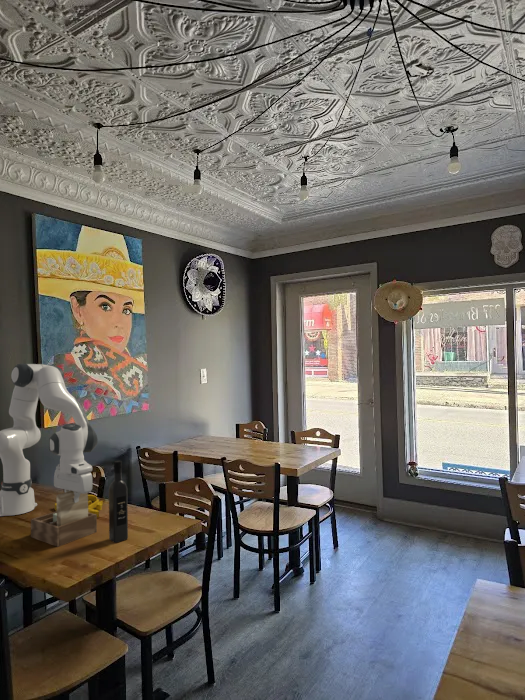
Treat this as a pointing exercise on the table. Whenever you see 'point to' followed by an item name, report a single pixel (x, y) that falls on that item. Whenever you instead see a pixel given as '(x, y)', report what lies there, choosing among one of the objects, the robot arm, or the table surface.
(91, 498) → the decorative art
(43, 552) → the table surface
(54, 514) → the offcut short
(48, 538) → the box
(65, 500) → the plywood sheet
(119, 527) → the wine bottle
